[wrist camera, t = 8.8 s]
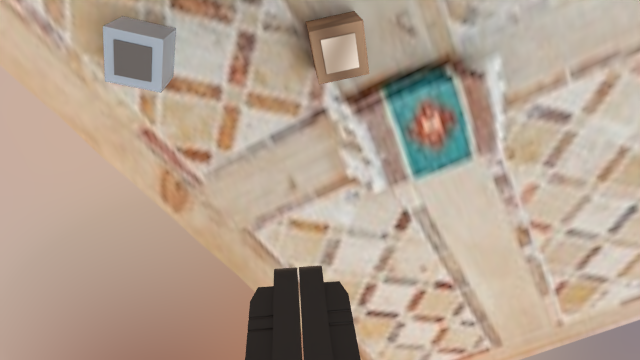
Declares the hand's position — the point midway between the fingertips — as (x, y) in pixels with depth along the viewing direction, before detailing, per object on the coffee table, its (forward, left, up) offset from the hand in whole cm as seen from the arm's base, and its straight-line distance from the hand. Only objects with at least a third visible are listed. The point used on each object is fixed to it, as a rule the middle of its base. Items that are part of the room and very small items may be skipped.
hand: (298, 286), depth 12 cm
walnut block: (-5, 0, -33) cm, 33 cm away
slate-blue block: (+14, 0, -33) cm, 36 cm away
